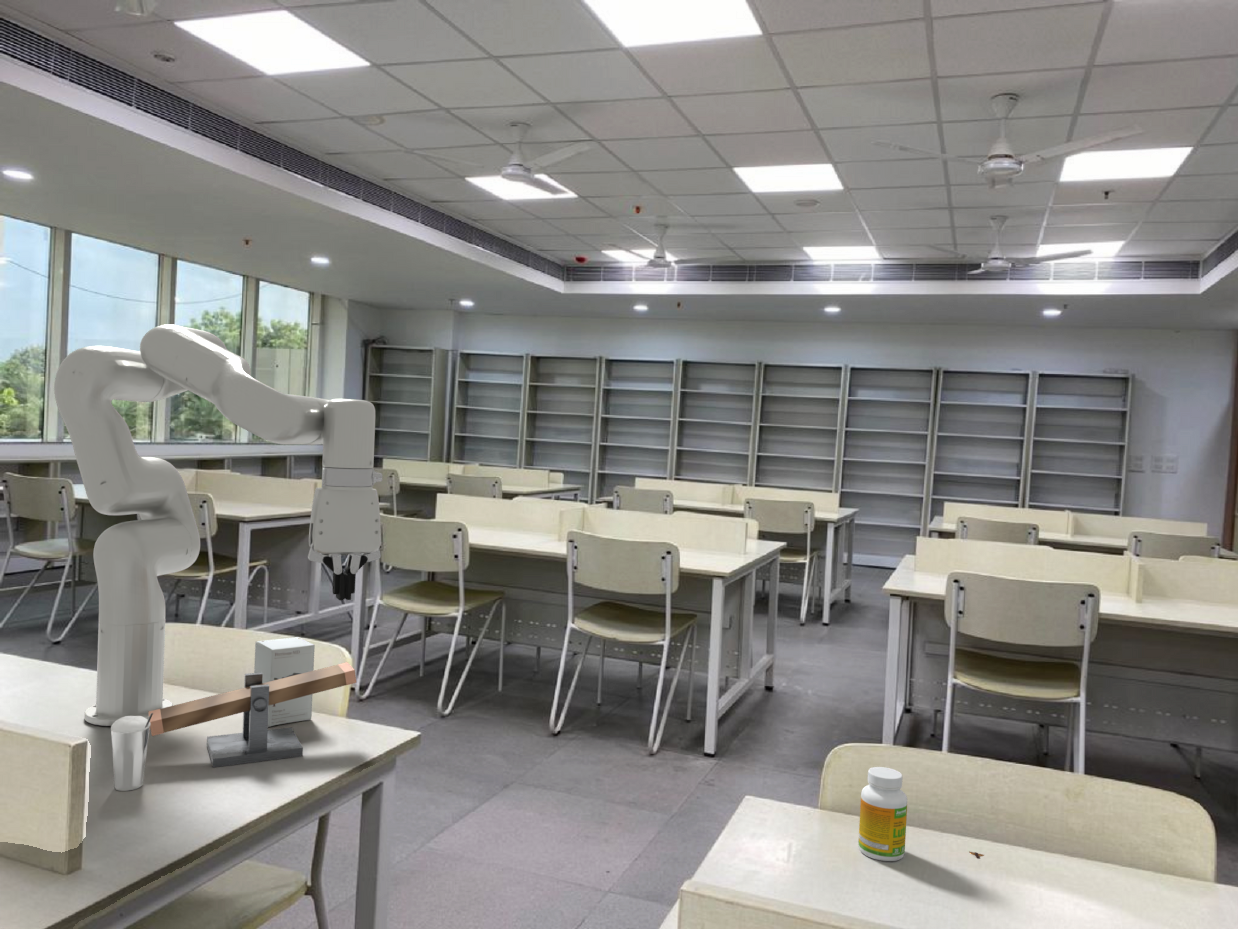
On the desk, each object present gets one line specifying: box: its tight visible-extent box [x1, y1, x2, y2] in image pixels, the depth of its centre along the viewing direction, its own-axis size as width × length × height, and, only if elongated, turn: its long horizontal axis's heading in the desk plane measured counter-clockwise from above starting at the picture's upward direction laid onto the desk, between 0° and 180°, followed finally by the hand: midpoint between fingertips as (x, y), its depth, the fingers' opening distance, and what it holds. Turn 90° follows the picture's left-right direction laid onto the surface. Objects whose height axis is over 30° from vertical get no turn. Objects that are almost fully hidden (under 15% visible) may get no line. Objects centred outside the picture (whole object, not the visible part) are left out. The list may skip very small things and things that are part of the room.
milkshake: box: [110, 713, 153, 792], centre depth 116 cm, size 5×5×10 cm
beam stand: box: [206, 672, 304, 768], centre depth 131 cm, size 12×10×10 cm
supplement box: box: [253, 636, 316, 728], centre depth 146 cm, size 7×7×13 cm
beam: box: [149, 661, 357, 737], centre depth 131 cm, size 28×5×2 cm, turn 119°
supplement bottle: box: [857, 766, 908, 862], centre depth 107 cm, size 5×5×10 cm
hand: (343, 598), depth 136 cm, fingers closed
